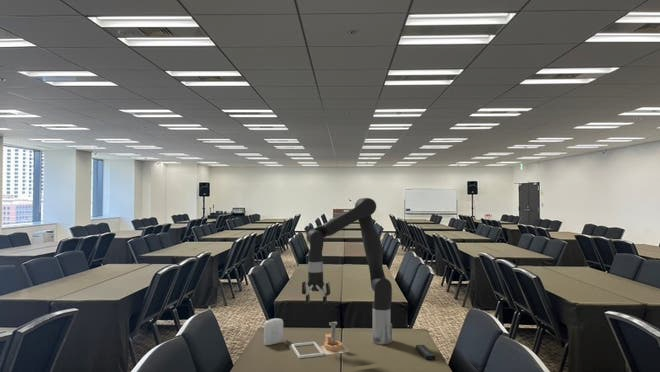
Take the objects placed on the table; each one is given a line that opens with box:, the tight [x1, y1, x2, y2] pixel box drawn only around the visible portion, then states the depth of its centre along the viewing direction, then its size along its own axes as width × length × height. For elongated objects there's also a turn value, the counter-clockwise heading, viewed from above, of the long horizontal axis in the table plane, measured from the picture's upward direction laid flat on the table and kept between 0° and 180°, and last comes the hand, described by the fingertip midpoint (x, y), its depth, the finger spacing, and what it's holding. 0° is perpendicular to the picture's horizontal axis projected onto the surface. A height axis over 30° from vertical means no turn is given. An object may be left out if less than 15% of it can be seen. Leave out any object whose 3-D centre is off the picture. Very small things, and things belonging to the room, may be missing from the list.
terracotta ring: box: [323, 333, 344, 351], centre depth 202 cm, size 8×13×4 cm
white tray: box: [291, 341, 325, 359], centre depth 196 cm, size 12×16×2 cm
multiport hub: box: [415, 344, 436, 361], centre depth 196 cm, size 4×14×2 cm, turn 7°
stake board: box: [318, 321, 351, 356], centre depth 199 cm, size 12×12×14 cm
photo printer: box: [263, 317, 284, 346], centre depth 211 cm, size 10×4×12 cm, turn 123°
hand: (316, 303), depth 204 cm, fingers open, 8 cm apart
